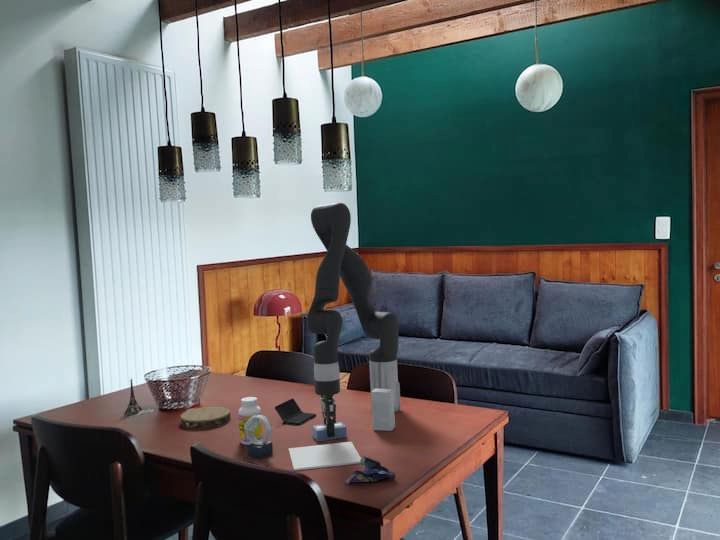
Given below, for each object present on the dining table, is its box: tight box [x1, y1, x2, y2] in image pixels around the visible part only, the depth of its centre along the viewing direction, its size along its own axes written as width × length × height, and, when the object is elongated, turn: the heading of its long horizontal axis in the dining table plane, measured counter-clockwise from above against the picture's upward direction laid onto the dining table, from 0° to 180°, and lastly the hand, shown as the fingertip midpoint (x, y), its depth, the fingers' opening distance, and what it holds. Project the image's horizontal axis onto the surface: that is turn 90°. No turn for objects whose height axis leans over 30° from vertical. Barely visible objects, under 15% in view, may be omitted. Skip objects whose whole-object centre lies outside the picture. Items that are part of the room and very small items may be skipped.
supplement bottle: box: [237, 396, 263, 446], centre depth 189 cm, size 7×7×13 cm
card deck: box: [311, 421, 348, 442], centre depth 190 cm, size 9×5×3 cm, turn 109°
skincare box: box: [370, 388, 396, 432], centre depth 195 cm, size 6×4×12 cm
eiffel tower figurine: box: [117, 378, 155, 421], centre depth 226 cm, size 15×10×13 cm
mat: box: [287, 441, 362, 472], centre depth 174 cm, size 18×16×1 cm
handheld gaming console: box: [274, 398, 317, 426], centre depth 209 cm, size 12×7×10 cm
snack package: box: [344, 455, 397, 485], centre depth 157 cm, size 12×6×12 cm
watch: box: [244, 414, 274, 460], centre depth 177 cm, size 6×8×11 cm
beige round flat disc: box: [180, 406, 231, 429], centre depth 212 cm, size 16×16×3 cm
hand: (329, 433), depth 190 cm, fingers closed on card deck, 5 cm apart
